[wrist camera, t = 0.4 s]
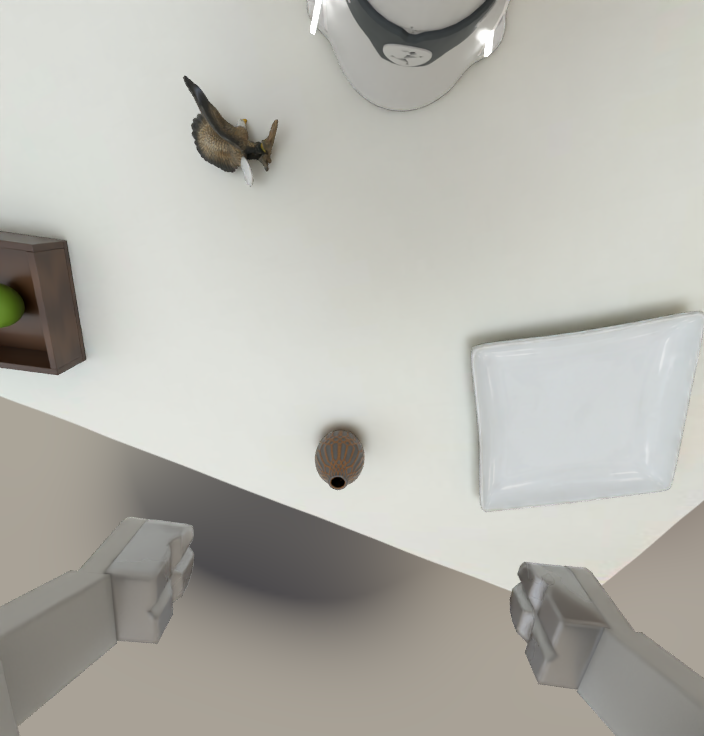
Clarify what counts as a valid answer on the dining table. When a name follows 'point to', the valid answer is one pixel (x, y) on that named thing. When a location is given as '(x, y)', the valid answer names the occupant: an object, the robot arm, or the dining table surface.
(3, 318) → the snail figurine
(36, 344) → the crate
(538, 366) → the square plate
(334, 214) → the dining table surface
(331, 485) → the vase
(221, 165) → the eagle figurine
